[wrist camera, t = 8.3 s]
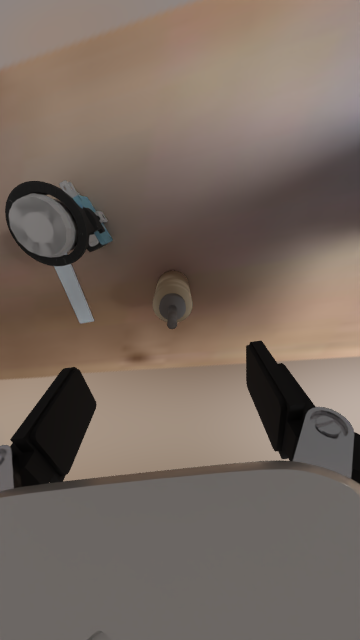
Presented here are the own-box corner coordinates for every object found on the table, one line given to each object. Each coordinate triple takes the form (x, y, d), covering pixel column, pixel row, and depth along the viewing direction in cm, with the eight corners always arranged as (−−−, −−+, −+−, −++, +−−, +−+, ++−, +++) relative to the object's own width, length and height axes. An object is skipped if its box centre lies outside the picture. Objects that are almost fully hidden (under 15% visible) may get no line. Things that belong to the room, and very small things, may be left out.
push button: (49, 196, 21) (-47, 182, 12) (92, 169, 20) (22, 131, 11) (89, 257, 23) (36, 281, 15) (128, 235, 22) (97, 248, 14)
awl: (186, 268, 24) (193, 299, 15) (190, 298, 26) (198, 341, 17) (154, 273, 24) (142, 306, 16) (160, 302, 26) (153, 347, 17)
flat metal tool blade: (51, 214, 21) (50, 214, 21) (94, 320, 27) (93, 321, 27) (33, 218, 21) (32, 218, 21) (80, 322, 27) (79, 323, 27)
